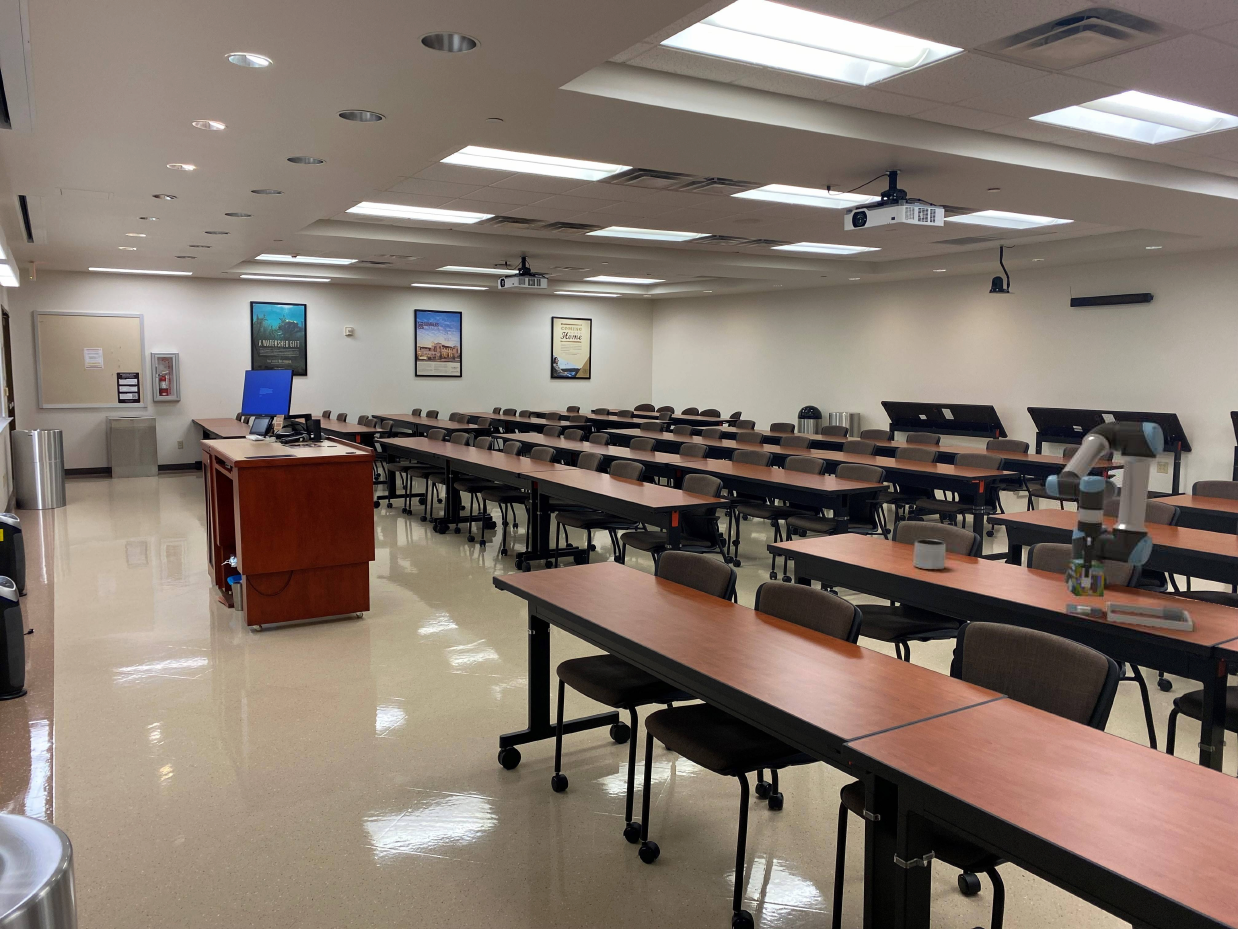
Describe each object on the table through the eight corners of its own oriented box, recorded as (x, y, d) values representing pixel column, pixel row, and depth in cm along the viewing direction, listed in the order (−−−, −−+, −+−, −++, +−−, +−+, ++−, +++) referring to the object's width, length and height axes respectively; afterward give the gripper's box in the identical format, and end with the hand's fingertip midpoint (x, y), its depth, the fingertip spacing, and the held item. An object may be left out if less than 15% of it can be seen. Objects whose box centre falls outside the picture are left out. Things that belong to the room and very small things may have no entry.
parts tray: (1106, 608, 300) (1106, 601, 300) (1186, 618, 289) (1187, 611, 289) (1107, 620, 286) (1107, 613, 286) (1192, 631, 275) (1192, 624, 275)
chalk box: (1103, 598, 291) (1106, 556, 289) (1074, 596, 293) (1077, 554, 291) (1094, 590, 300) (1097, 550, 298) (1066, 589, 302) (1069, 548, 300)
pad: (1066, 605, 305) (1066, 603, 305) (1101, 609, 300) (1101, 607, 300) (1066, 613, 295) (1066, 611, 295) (1102, 617, 290) (1102, 615, 290)
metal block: (1162, 619, 288) (1163, 605, 287) (1179, 622, 285) (1180, 607, 285) (1163, 624, 283) (1164, 609, 283) (1181, 626, 281) (1182, 611, 280)
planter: (947, 566, 363) (948, 540, 361) (941, 572, 352) (942, 546, 351) (917, 562, 369) (918, 537, 368) (910, 568, 359) (911, 542, 357)
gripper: (1077, 514, 305) (1073, 574, 308) (1077, 525, 285) (1073, 589, 288) (1101, 516, 302) (1097, 577, 304) (1103, 527, 282) (1098, 591, 284)
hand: (1085, 582), depth 296 cm, fingers closed on chalk box, 10 cm apart
